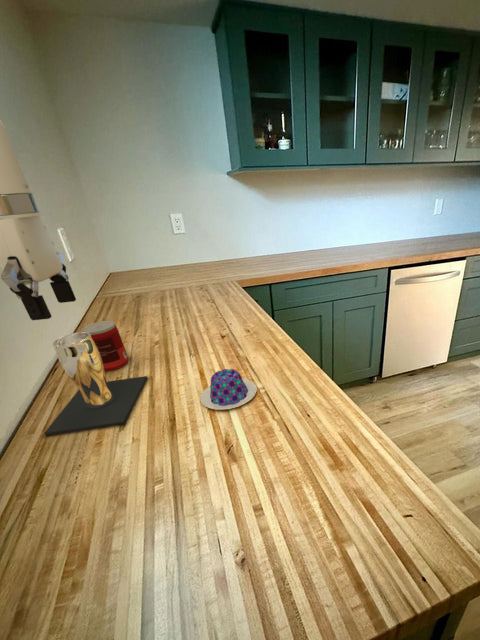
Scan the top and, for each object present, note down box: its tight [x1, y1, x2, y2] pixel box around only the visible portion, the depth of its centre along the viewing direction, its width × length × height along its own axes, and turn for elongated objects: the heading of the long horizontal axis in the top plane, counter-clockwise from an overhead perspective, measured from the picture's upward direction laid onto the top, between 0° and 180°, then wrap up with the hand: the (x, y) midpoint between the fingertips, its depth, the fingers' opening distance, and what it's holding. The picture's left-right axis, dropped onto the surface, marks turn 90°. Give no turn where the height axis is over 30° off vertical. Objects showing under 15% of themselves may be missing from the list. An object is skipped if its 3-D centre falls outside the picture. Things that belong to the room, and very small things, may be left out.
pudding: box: [200, 368, 258, 411], centre depth 71 cm, size 12×12×5 cm
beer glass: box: [52, 331, 116, 409], centre depth 70 cm, size 7×7×15 cm
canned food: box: [81, 320, 129, 372], centre depth 88 cm, size 8×8×11 cm
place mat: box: [44, 375, 148, 437], centre depth 74 cm, size 15×18×1 cm
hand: (55, 309), depth 63 cm, fingers open, 9 cm apart
